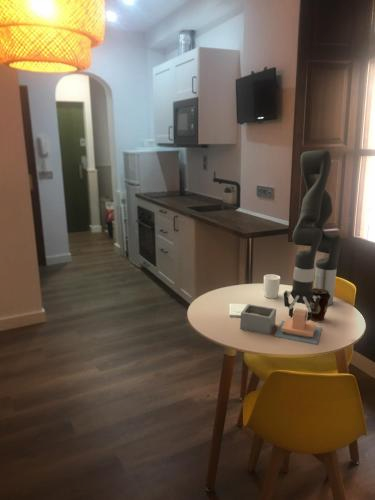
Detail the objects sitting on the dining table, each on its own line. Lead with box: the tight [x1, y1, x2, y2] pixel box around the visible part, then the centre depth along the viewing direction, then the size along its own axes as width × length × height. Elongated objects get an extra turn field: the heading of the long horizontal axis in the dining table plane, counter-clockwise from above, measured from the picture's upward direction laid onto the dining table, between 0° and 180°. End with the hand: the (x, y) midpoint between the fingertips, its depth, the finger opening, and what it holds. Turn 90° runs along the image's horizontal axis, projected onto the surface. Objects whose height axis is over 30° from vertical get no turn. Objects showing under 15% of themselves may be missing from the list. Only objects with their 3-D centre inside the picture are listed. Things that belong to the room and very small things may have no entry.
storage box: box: [239, 303, 277, 336], centre depth 167 cm, size 10×12×7 cm
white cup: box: [263, 273, 281, 300], centre depth 200 cm, size 8×8×10 cm
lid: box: [281, 307, 317, 338], centre depth 163 cm, size 10×12×8 cm
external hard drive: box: [228, 303, 248, 318], centre depth 183 cm, size 2×8×12 cm
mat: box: [273, 320, 322, 346], centre depth 164 cm, size 15×16×1 cm
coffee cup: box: [310, 287, 330, 323], centre depth 174 cm, size 9×8×13 cm
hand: (299, 318), depth 162 cm, fingers open, 6 cm apart
